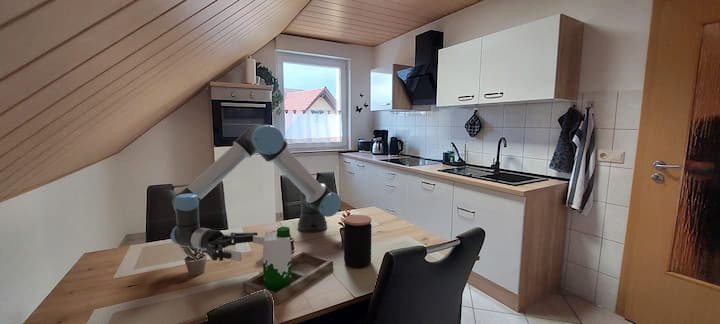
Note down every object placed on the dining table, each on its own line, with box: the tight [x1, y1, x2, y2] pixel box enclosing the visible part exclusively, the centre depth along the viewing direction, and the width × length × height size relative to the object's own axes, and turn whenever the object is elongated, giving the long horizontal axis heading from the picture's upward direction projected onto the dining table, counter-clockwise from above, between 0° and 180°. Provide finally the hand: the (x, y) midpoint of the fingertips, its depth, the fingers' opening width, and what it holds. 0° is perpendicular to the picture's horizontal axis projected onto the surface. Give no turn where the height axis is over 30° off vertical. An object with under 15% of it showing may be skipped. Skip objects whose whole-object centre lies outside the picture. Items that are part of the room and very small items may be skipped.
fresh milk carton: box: [262, 226, 293, 293], centre depth 100 cm, size 9×9×20 cm
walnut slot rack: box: [242, 251, 334, 306], centre depth 106 cm, size 28×15×3 cm, turn 148°
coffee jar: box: [343, 214, 372, 269], centre depth 118 cm, size 11×11×18 cm
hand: (255, 248), depth 102 cm, fingers open, 13 cm apart
